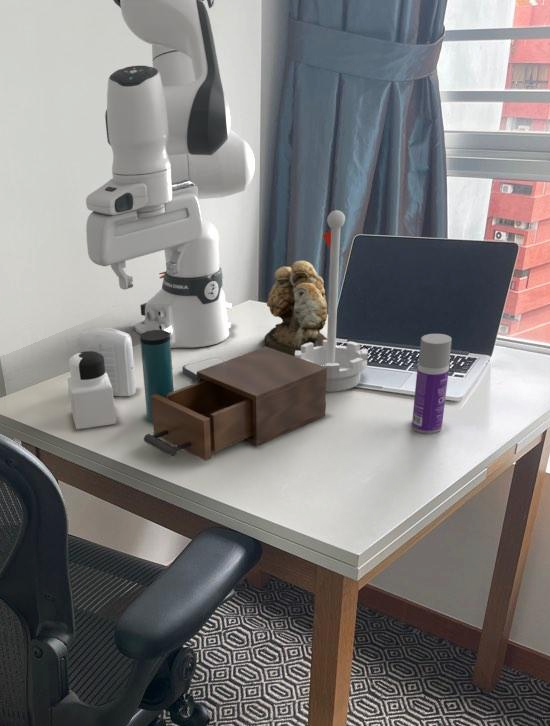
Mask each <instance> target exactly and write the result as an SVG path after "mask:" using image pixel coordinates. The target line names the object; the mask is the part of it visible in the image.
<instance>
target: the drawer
mask: <svg viewBox="0 0 550 726" xmlns="http://www.w3.org/2000/svg"><path fill="white" fill-rule="evenodd" d="M166 395H167V399H166V398H164V397H162V396H160V395H158V394H155V395H152V396H151V405H152V417H153V422H152V428H153V434H150V433H146V434H145V435H144V437H143V442H144V443H146V444H147V445H150V446H151V447H153V448H154V449H157V450H159V451H160V452H162V453H164V454H166V455H167V456H170V457H172V458H173V457H175V456H177V454H178V452H180V451H182V450H184V451H185V452H187V453H190V454H191V455H193V456H195V457H197V458H199V459H201V460H203V461H205V462H207V461H209V460H212V452H214V453H216V452H218V451H220V450H223V449H225V448H227V447H229V446H232V445H235V444H237V443H239V442H241V441H244V439H246V438H248V437H251V436H253V404H252V399H250V398H247V397H245V396H242V395H240V394H238V393H235V392H233V391H230V390H228V389H226V388H223V387H221V386H218V385H216V384H214V383H211V382H209V381H206V380H202V381H200V382H197V381H196V382H195V383H192V384H189V385H186V386H184V387H182V388H179V389H176V390H174V391H173V392H170V393H168V394H166ZM160 438H161V439H163V440H161V439H160ZM164 440H165V441H164ZM169 443H170V444H169ZM171 444H172V445H171ZM173 445H174V446H173Z"/></svg>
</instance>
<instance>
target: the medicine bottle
mask: <svg viewBox="0 0 550 726" xmlns="http://www.w3.org/2000/svg"><path fill="white" fill-rule="evenodd" d="M68 364H69V372H70V377H68V378H67V386H68V387H67V388H68V393H69V400H70V401H69V402H70V406H71V407H70V408H71V413H72V414H71V415H72V417H73V422H74V426H75V429H76V430H83V429H91V428H99V427H105V426H111V425H116V423H117V418H116V409H115V408H116V407H115V402H114V401H115V400H114V399H115V398H114V395H113V390H112V386H111V383H110V380H109V378H108V375H107V373H106V371H105V363H104V356H103V355H102V354H100V353H98V352H93V351H85V352H80V351H79V352H77V353H75V354H73V355H72V356H71V357H70V358H69V360H68Z"/></svg>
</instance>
